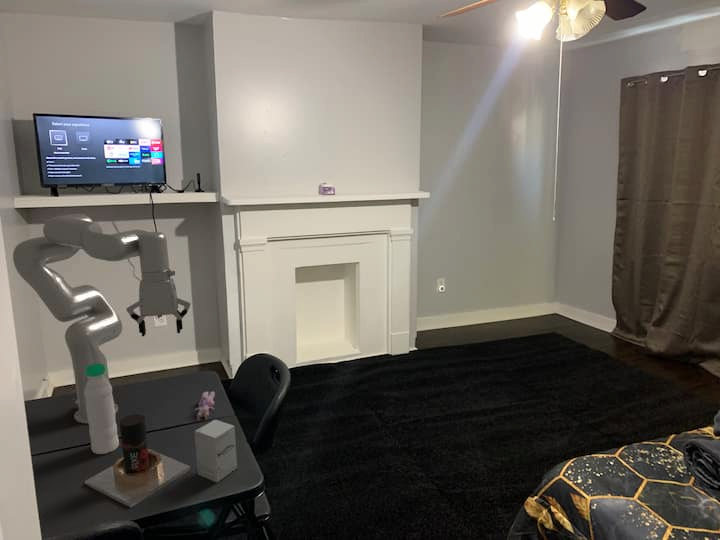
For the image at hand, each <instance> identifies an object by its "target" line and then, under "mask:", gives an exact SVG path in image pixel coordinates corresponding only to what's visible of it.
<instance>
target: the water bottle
mask: <svg viewBox="0 0 720 540" xmlns="http://www.w3.org/2000/svg"><path fill="white" fill-rule="evenodd" d="M104 374H105V366H104V365H103V364H92V365H89V366H88V367H87V368H86V375H87V377H88V378H89V380H88V382H87V386H86V388H85V390H84V396H85V398H86V411H87V418H88V423H87V424H88V426H89V429H88V430H89V437H90V447H91V451H92V452H93V453H94V454H96V455H106V454H109V452H110V453H111V452H114V451H115V450H117V448H118V447H119V446H120V441H119V435H118V425H117V422H116V414H115V408H114V403H115V401H114V396H113V386H112V385H111V383H110V381H109V382H108V380H107V379H106V378H105V377H104Z"/></svg>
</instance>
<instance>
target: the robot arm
mask: <svg viewBox="0 0 720 540" xmlns="http://www.w3.org/2000/svg"><path fill="white" fill-rule="evenodd" d="M42 231H43V232H42V233H43V236H39V237H34V238H29V239H26V240H24V241H22V242H20V243H18V244H17V245H16V246H15V248H14V249H13V253H12V258H13V259H12V260H13V264H14V267H15V269H16V272H17V273H18V275H20V277H21V278H22V279H23V280H24V281H25V282H26V283H27V284H28V285H29V286H30V287H31V288H32V290H34V291H35V292H36V294H37V295H38V297H39V298H40V299H41V301H42V302H43V304H44V305H45V307H46V308H47V309H48V311H49V312H50V313H51V314H52V315H53V317H54V318H55V319H56V320H57V321H58V322H62V323H66V322H71V321H73V320H76V321H75V322H73V323H72V324H70V325H69V326H68V328H67V329H66V331H65V334H64V339H65V344H66V346H67V348H68V350H69V353H70V357H71V363H72V369H73V376H74V382H75V389H76V390H75V391H76V395H77V399H76V400H75V401H74V403H75V404H76V405H78V410H77V411H76V412H75V413H74V421H75V422H77V423H81V424H89V423H88V418H87V411H86V398H85V396H84V390H85V388H86V386H87V382H88V380H89V378H88V377H87V375H86V368H87V367H88V366H89V365H92V364H103V365H104V366H105V374H104V377H105V378H106V379H107V380H108V382H109V383H110V377H109V375H110V374H109V368H108V361H107V357H106V356H105V354H104V352H102V351H101V350H100V346H102V345H104V344H106V343H109V342H110V341H113V340H115V339H117V338H118V337H119V336H120V335H121V334H122V331H123V323H122V320H121V318H120V316H119V315H118V313H117V312H116V310H115V309H114V308H113V307H112V305H111V304H110V302H109V301H108V300H107V299H106V297H105V295H104V294H103V293H102V292H101V290H99V289H98V288H96V287H95V286H93V285H89V284H82V285H79V286H75V287H71V286H70V285H69V284H68V282H67V281H66V280H65V279H64V277H63V276H62V275H61V274H60V273H59V272H57V271H55V270H54V269H51V268H50V267H48V266H47V265H49V264H53V263H57V262H61V261H66V260H68V259H71V258H72V257H73V256H74V255H76V254H77V253H78V252H79V251H80V250H83V251H84V252H85V254H87V255H88V257H91V258H93V259H95V260H101V261H107V262H121V261H123V260H128V259H131V258H136V257H139V264H140V276H141V280H140V281H139V286H138V301H137V302H134V303H133V304H131V305H129V306H127V308H126V312H127V314H128V315H129V316H130V318H131V319H133V320H134V321H135V322H136V323H138V332H139V334H141V337H146V334H147V329H146V320H144V319H145V318H146V317H157V316H159V317H160V316H168V315H173V316H174V317H175V318H176V319H175V323H176V334H180V333H181V330H183V318H184V317H185V316H186V315H187V313H188V312H189V309H190V307H191V303H190V302H189V301H187V300H183V299H181V298H178V293H177V288H176V284H175V280H174V278H172V276H173V277H174V276H176V271H175V270H172V269H170V261H169V252H168V241H167V236H166V234H165V233H164V232H161V231H145V230H144V229H143V230H142V229H131V230H126V231H121V232H117V233H111V234H108V233H104V231H103V228H102V227H101V225H100V224H98V222H95V221H93V220H92V218H91V217H90V216H88V215H87V214H85V213H84V214H83V213H80V212H79V213H72V214H64V215H63V214H62V215H58V216H54V217H51V218H49V219H48V220H47V221H45V224H44V225H43V228H42ZM179 305H180V306H182V307H184V308H183V310H181V311H180V310H178V309H179ZM136 309H139V313H140V315H139V314H137V313H136V312H135V311H134V310H136ZM85 316H87V317H85ZM83 317H85V318H83ZM79 318H83V319H79ZM77 319H79V320H77ZM114 408H115V415H116V414H117V413H119V406H118V404H117V403H115V402H114Z"/></svg>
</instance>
